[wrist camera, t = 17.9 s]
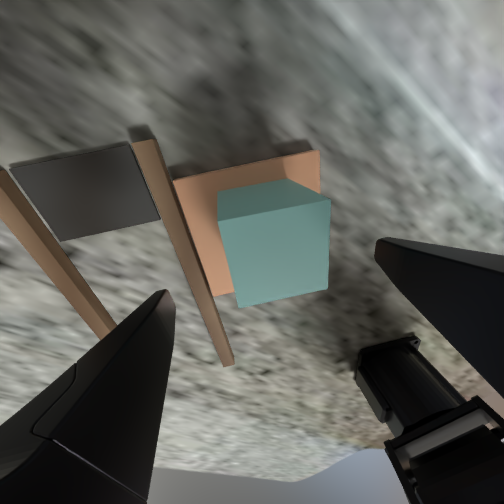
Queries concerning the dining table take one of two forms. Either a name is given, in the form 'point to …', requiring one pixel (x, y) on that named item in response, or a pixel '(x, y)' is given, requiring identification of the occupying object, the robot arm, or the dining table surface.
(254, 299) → the block
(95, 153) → the chute
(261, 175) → the tile
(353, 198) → the dining table surface
